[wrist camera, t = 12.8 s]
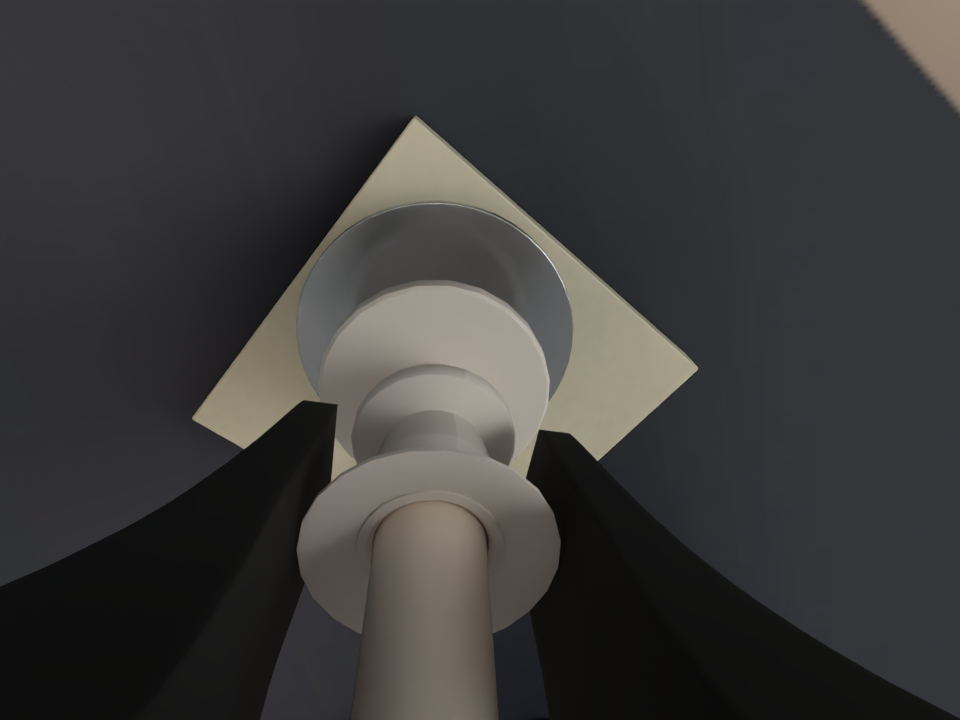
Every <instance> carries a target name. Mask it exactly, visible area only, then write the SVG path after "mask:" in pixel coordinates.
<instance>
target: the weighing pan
mask: <svg viewBox="0 0 960 720" xmlns="http://www.w3.org/2000/svg"><path fill="white" fill-rule="evenodd" d="M416 280H451V281H455V282H459V283H463V284H467V285H471V286H475V287H479V288H481V289H483V290H485V291H487V292H489V293H490V294H492V295H494V296H496V297H498V298H499V299H501V300H503V301H505V302H507V303H508V304H509V305H510V306H511V307H512V308H513V309H514V310H515V311H516V312H517V313H518V314H519V315H520V316H521V317H522V318H523V319H524V320H525V321H526V322H527V323H528V324H529V326H530V328H531V330H532V331H533V333H534V335H535V337H536V338H537V340H538V342H539V344H540V346H541V347H542V350H543V353H544V356H545V361H546V365H547V370H548V374H549V379H550V385H549V398H548V402H549V400H550V399H551V398H552V396H553V395H554V393H555V392H556V390H557V388H558V386H559V384H560V382H561V380H562V378H563V377H564V374H565V371H566V368H567V365H568V363H569V359H570V354H571V349H572V343H573V317H572V310H571V305H570V301H569V296H568V294H567V291H566V288H565V286H564V283H563V280H562V278H561V277H560V275H559V273H558V271H557V269H556V268H555V266H554V264H553V262H552V261H551V260H550V258H549V257H548V256H547V254H546V253H545V252H544V250H543V249H542V248H541V247H540V246H539V245H538V244H537V243H536V242H535V241H534V240H533V239H532V238H531V237H530V236H529V235H528V234H527V233H525V232H524V231H523V230H522V229H520V228H519V227H518V226H516V225H515V224H514V223H512V222H510V221H508V220H506V219H505V218H503V217H501V216H499V215H497V214H495V213H493V212H490V211H488V210H485V209H483V208H480V207H477V206H473V205H469V204H464V203H460V202H452V201H443V200H427V201H415V202H409V203H403V204H398V205H395V206H392V207H388V208H385V209H382V210H380V211H377V212H375V213H373V214H371V215H369V216H367V217H364V218H363V219H361V220H360V221H358V222H357V223H355V224H353V225H352V226H350V227H349V228H347V229H346V230H345V231H344V232H343V233H342V234H340V235H339V236H338V237H337V238H336V239H335V240H334V241H333V242H332V243H331V244H330V245H329V246H328V248H327V249H326V250H325V251H324V252H323V253H322V255H321V256H320V257H319V259H318V261H317V262H316V264H315V265H314V267H313V268H312V270H311V272H310V274H309V276H308V278H307V280H306V283H305V285H304V287H303V290H302V294H301V297H300V301H299V305H298V313H297V321H296V328H297V343H298V349H299V355H300V358H301V361H302V364H303V367H304V371H305V373H306V375H307V377H308V379H309V381H310V383H311V385H312V387H313V389H314V390H315V392H316V393H317V395H318V396H319V398H320V395H319V387H318V381H319V375H320V370H321V364H322V359H323V355H324V353H325V351H326V349H327V347H328V345H329V343H330V341H331V339H332V337H333V335H334V333H335V332H336V330H337V328H338V326H339V324H340V323H341V322H342V321H343V320H344V319H345V318H346V317H347V316H348V315H349V314H350V313H351V312H352V311H353V310H354V309H355V308H356V307H357V306H358V305H359V304H360V303H362V302H363V301H365V300H367V299H369V298H370V297H372V296H374V295H376V294H377V293H379V292H381V291H383V290H384V289H386V288H390V287H393V286H397V285H401V284H405V283H409V282H413V281H416Z"/></svg>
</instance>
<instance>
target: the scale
mask: <svg viewBox="0 0 960 720" xmlns="http://www.w3.org/2000/svg"><path fill="white" fill-rule="evenodd" d="M427 200H443V201H452V202H460V203H464V204H469V205H473V206H477V207H480V208H483V209H485V210H488V211H490V212H493V213H495V214H497V215H499V216H501V217H503V218H505V219H506V220H508V221H510V222H512V223H514V224H515V225H516V226H518V227H519V228H520V229H522V230H523V231H524V232H525V233H527V234H528V235H529V236H530V237H531V238H532V239H533V240H534V241H535V242H536V243H537V244H538V245H539V246H540V247H541V248H542V249H543V250H544V252H545V253H546V254H547V256H548V257H549V258H550V260H551V261H552V262H553V264H554V266H555V268H556V269H557V271H558V273H559V275H560V277H561V278H562V280H563V283H564V286H565V288H566V291H567V294H568V296H569V301H570V305H571V310H572V317H573V343H572V349H571V354H570V359H569V363H568V365H567V368H566V371H565V374H564V377H563V378H562V380H561V382H560V384H559V386H558V388H557V390H556V392H555V393H554V395H553V396H552V398H551V399H550V400H549V402H548V407H547V410H546V412H545V415H544V418H543V420H542V423H541V425H540V428H539V429H540V430H548V431H556V432H564V433H570V434H571V435H572V436H573V437H574V438H576V439H577V440H578V441H579V442H580V443H581V444H582V445H583V446H584V447H585V448H586V450H587V451H588V452H589V453H590V454H591V455H592V456H593V457H594V458H595V459H596V460H597V461H598V460H599V459H600V458H601V457H602V456H604V455H605V454H606V453H607V452H608V451H609V450H610V449H611V448H612V447H613V446H615V445H616V444H617V443H618V442H619V441H620V440H621V439H622V438H623V437H624V436H626V435H627V434H628V433H629V432H630V431H631V430H632V429H633V428H634V427H635V426H637V425H638V424H639V423H640V422H641V421H642V420H643V419H644V418H645V417H646V416H647V415H649V414H650V413H651V412H652V411H653V410H654V409H655V408H656V407H657V406H658V405H660V404H661V403H662V402H663V401H664V400H665V399H666V398H667V397H668V396H669V395H671V394H672V393H673V392H674V391H675V390H676V389H677V388H678V387H679V386H680V385H682V384H683V383H684V382H685V381H686V380H687V379H688V378H689V377H690V376H691V375H692V374H694V373H695V372H696V371H697V370H698V367H697V366H696V365H695V364H694V362H693V361H692V360H691V359H690V358H689V357H688V356H687V355H686V354H685V353H684V352H683V351H682V350H681V349H680V348H679V347H677V346H676V345H675V344H674V343H673V342H672V341H671V340H670V339H668V338H667V337H666V336H665V335H664V334H663V333H662V332H661V331H659V330H658V329H657V328H656V327H655V326H654V325H653V324H651V323H650V322H649V321H648V320H647V319H646V318H645V317H644V316H642V315H641V314H640V313H639V312H638V311H637V310H636V309H635V308H633V307H632V306H631V305H630V304H629V303H628V302H627V301H625V300H624V299H623V298H622V297H621V296H620V295H619V294H618V293H616V292H615V291H614V290H613V289H612V288H611V287H610V286H609V285H607V284H606V283H605V282H604V281H603V280H602V279H601V278H600V277H598V276H597V275H596V274H595V273H594V272H593V271H592V270H590V269H589V268H588V267H587V266H586V265H585V264H584V263H583V262H581V261H580V260H579V259H578V258H577V257H576V256H575V255H574V254H572V253H571V252H570V251H569V250H568V249H567V248H566V247H564V246H563V245H562V244H561V243H560V242H559V241H558V240H557V239H555V238H554V237H553V236H552V235H551V234H550V233H549V232H548V231H546V230H545V229H544V228H543V227H542V226H541V225H540V224H538V223H537V222H536V221H535V220H534V219H533V218H532V217H531V216H529V215H528V214H527V213H526V212H525V211H524V210H523V209H522V208H520V207H519V206H518V205H517V204H516V203H515V202H514V201H512V200H511V199H510V198H509V197H508V196H507V195H506V194H505V193H503V192H502V191H501V190H500V189H499V188H498V187H497V186H496V185H494V184H493V183H492V182H491V181H490V180H489V179H488V178H487V177H485V176H484V175H483V174H482V173H481V172H480V171H479V170H477V169H476V168H475V167H474V166H473V165H472V164H471V163H470V162H468V161H467V160H466V159H465V158H464V157H463V156H462V155H461V154H459V153H458V152H457V151H456V150H455V149H454V148H453V147H451V146H450V145H449V144H448V143H447V142H446V141H445V140H444V139H442V138H441V137H440V136H439V135H438V134H437V133H436V132H435V131H433V130H432V129H431V128H430V127H429V126H428V125H427V124H425V123H424V122H423V121H422V120H421V119H420V118H419V117H418V116H414V117H413V118H412V120H411V121H410V122H409V124H408V125H407V126H406V128H405V129H404V130H403V132H402V133H401V135H400V136H399V137H398V139H397V140H396V141H395V143H394V144H393V145H392V147H391V148H390V149H389V151H388V152H387V154H386V155H385V156H384V158H383V159H382V160H381V162H380V163H379V164H378V166H377V167H376V169H375V170H374V171H373V173H372V174H371V175H370V177H369V178H368V179H367V181H366V182H365V183H364V185H363V186H362V188H361V189H360V190H359V192H358V193H357V194H356V196H355V197H354V198H353V200H352V201H351V202H350V204H349V205H348V207H347V208H346V209H345V211H344V212H343V213H342V215H341V216H340V217H339V219H338V220H337V221H336V223H335V224H334V226H333V227H332V228H331V230H330V231H329V232H328V234H327V235H326V236H325V238H324V239H323V240H322V242H321V243H320V245H319V246H318V247H317V249H316V250H315V251H314V253H313V254H312V255H311V257H310V258H309V259H308V261H307V262H306V264H305V265H304V266H303V268H302V269H301V270H300V272H299V273H298V274H297V276H296V277H295V278H294V280H293V281H292V283H291V284H290V285H289V287H288V288H287V289H286V291H285V292H284V293H283V295H282V296H281V297H280V299H279V300H278V302H277V303H276V304H275V306H274V307H273V308H272V310H271V311H270V312H269V314H268V315H267V316H266V318H265V319H264V321H263V322H262V323H261V325H260V326H259V327H258V329H257V330H256V331H255V333H254V334H253V335H252V337H251V338H250V340H249V341H248V342H247V344H246V345H245V346H244V348H243V349H242V350H241V352H240V353H239V354H238V356H237V357H236V359H235V360H234V361H233V363H232V364H231V365H230V367H229V368H228V369H227V371H226V372H225V373H224V375H223V376H222V378H221V379H220V380H219V382H218V383H217V384H216V386H215V387H214V388H213V390H212V391H211V392H210V394H209V395H208V397H207V398H206V399H205V401H204V402H203V403H202V405H201V406H200V407H199V409H198V410H197V411H196V413H195V414H194V416H193V417H192V419H193V420H194V421H196V422H198V423H199V424H201V425H203V426H205V427H206V428H208V429H210V430H212V431H213V432H215V433H217V434H219V435H220V436H222V437H224V438H226V439H227V440H229V441H231V442H233V443H234V444H236V445H238V446H240V447H241V448H243V449H245V448H246V447H248V446H249V445H250V444H251V443H253V442H254V441H255V440H256V439H258V438H259V437H260V436H261V435H263V434H264V433H265V432H266V431H267V430H268V429H270V428H271V427H272V426H273V425H274V424H275V423H277V422H278V421H279V420H280V419H281V418H282V417H283V416H285V415H286V414H287V413H288V412H289V411H290V410H291V409H292V408H294V407H295V406H296V405H297V404H299V403H300V402H301V401H303V400H307V401H315V402H320V398H319V396H318V395H317V393H316V392H315V390H314V389H313V387H312V385H311V383H310V381H309V379H308V377H307V375H306V373H305V371H304V367H303V364H302V361H301V358H300V355H299V349H298V343H297V328H296V321H297V313H298V305H299V301H300V297H301V294H302V290H303V287H304V285H305V283H306V280H307V278H308V276H309V274H310V272H311V270H312V268H313V267H314V265H315V264H316V262H317V261H318V259H319V257H320V256H321V255H322V253H323V252H324V251H325V250H326V249H327V248H328V246H329V245H330V244H331V243H332V242H333V241H334V240H335V239H336V238H337V237H338V236H339V235H340V234H342V233H343V232H344V231H345V230H346V229H347V228H349V227H350V226H352V225H353V224H355V223H357V222H358V221H360V220H361V219H363V218H364V217H367V216H369V215H371V214H373V213H375V212H377V211H380V210H382V209H385V208H388V207H392V206H395V205H398V204H403V203H409V202H415V201H427ZM537 435H538V432H537V433H536V435H535V436H534V437H533V439H532V440H531V441H530V443H529V444H528V445H527V447H526V448H525V449H524V451H523V452H522V453H520V454H519V455H518V456H517V457H516V458H514V459H513V460H512V461H511V462H510V464H509V467H511V468H513V469H515V470H516V471H517V472H518V473H520V474H521V475H522V476H523V477H524V478H526V476H527V472H528V468H529V465H530V461H531V457H532V453H533V450H534V446H535V442H536V439H537ZM355 465H357V462H356V460H355V459H354V458H353V457H351V456H350V455H349V454H348V453H347V452H346V450H345V449H344V448H343V447H342V446H341V444H340V443H339V442H338V441H337V440H336V438H335V442H334V453H333V465H332V476H331V482H332V481H333V480H334V479H335V478H336V477H337V476H338V475H339V474H340V473H342V472H344V471H346V470H348V469H350V468H352V467H353V466H355Z"/></svg>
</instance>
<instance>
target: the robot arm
mask: <svg viewBox="0 0 960 720" xmlns="http://www.w3.org/2000/svg"><path fill="white" fill-rule="evenodd" d="M337 407H338V404H331V403H323V402H315V401H307V400H303V401H301V402H300V403H299V404H297V405H296V406H295V407H294V408H292V409H291V410H290V411H289V412H288V413H287V414H286V415H285V416H283V417H282V418H281V419H280V420H279V421H278V422H277V423H275V424H274V425H273V426H272V427H271V428H270V429H268V430H267V431H266V432H265V433H264V434H263V435H261V436H260V437H259V438H258V439H256V440H255V441H254V442H253V443H251V444H250V445H249V446H248V447H246V448H245V449H244V450H243V451H241V452H240V453H239V454H238V455H236V456H235V457H234V458H233V459H231V460H230V461H229V462H227V463H226V464H225V465H223V466H222V467H220V468H219V469H218V470H216V471H215V472H213V473H212V474H211V475H209V476H208V477H206V478H205V479H203V480H202V481H201V482H199V483H198V484H196V485H195V486H194V487H192V488H191V489H189V490H188V491H186V492H185V493H183V494H182V495H180V496H179V497H177V498H175V499H174V500H172V501H171V502H169V503H168V504H166V505H164V506H163V507H161V508H159V509H157V510H156V511H154V512H152V513H151V514H149V515H147V516H145V517H144V518H142V519H140V520H138V521H137V522H135V523H133V524H131V525H129V526H128V527H126V528H124V529H122V530H120V531H118V532H116V533H114V534H112V535H110V536H108V537H106V538H104V539H102V540H100V541H98V542H96V543H94V544H92V545H90V546H88V547H86V548H84V549H82V550H80V551H78V552H76V553H74V554H72V555H70V556H68V557H66V558H64V559H62V560H60V561H58V562H56V563H53V564H51V565H49V566H47V567H45V568H42V569H40V570H38V571H35V572H33V573H31V574H29V575H26V576H24V577H22V578H19V579H17V580H15V581H13V582H10V583H8V584H6V585H3V586H1V587H0V720H260V718H261V714H262V710H263V706H264V703H265V699H266V695H267V691H268V687H269V684H270V681H271V678H272V674H273V671H274V668H275V665H276V662H277V658H278V656H279V653H280V650H281V647H282V645H283V642H284V639H285V636H286V633H287V631H288V628H289V625H290V622H291V619H292V617H293V614H294V611H295V608H296V605H297V603H298V600H299V597H300V594H301V592H302V589H303V586H304V583H305V582H304V580H303V579H302V577H301V574H300V568H299V562H298V556H297V550H296V549H297V544H298V539H299V534H300V529H301V523H302V520H303V518H304V516H305V515H306V513H307V511H308V509H309V508H310V506H311V504H312V503H313V501H314V499H315V498H316V496H317V494H318V493H319V492H321V491H322V490H323V489H324V488H325V487H326V486H327V485H328V484H329V483H330V482H331V476H332V465H333V453H334V442H335V430H336V418H337ZM526 479H527V480H528V481H529V482H530V483H532V484H533V485H534V486H535V487H536V488H538V489H539V491H540V493H541V494H542V496H543V497H544V499H545V500H546V502H547V503H548V505H549V506H550V508H551V509H552V511H553V512H554V516H555V520H556V524H557V528H558V532H559V536H560V540H561V545H560V555H559V564H558V569H557V571H556V573H555V575H554V577H553V580H552V582H551V584H550V586H549V588H548V590H547V592H546V593H545V594H544V595H543V596H542V597H541V599H540V600H539V601H538V602H537V603H536V604H535V605H534V607H533V608H532V609H531V610H530V616H531V621H532V625H533V630H534V635H535V640H536V645H537V650H538V655H539V660H540V664H541V669H542V674H543V680H544V686H545V692H546V698H547V705H548V714H549V720H960V718H958V717H956V716H954V715H952V714H950V713H948V712H946V711H944V710H942V709H940V708H938V707H936V706H934V705H932V704H931V703H929V702H927V701H925V700H923V699H921V698H919V697H917V696H915V695H913V694H911V693H909V692H907V691H905V690H903V689H901V688H900V687H898V686H896V685H894V684H892V683H890V682H888V681H886V680H884V679H883V678H881V677H879V676H877V675H875V674H874V673H872V672H870V671H869V670H867V669H865V668H863V667H862V666H860V665H858V664H857V663H855V662H853V661H851V660H850V659H848V658H846V657H845V656H843V655H841V654H839V653H838V652H836V651H834V650H833V649H831V648H829V647H827V646H826V645H824V644H823V643H821V642H819V641H818V640H816V639H815V638H813V637H811V636H810V635H808V634H807V633H805V632H803V631H802V630H800V629H799V628H797V627H795V626H794V625H792V624H791V623H789V622H788V621H786V620H785V619H783V618H782V617H781V616H779V615H778V614H776V613H775V612H773V611H772V610H770V609H769V608H767V607H766V606H764V605H763V604H761V603H760V602H758V601H757V600H755V599H754V598H752V597H751V596H750V595H748V594H747V593H745V592H744V591H743V590H741V589H740V588H739V587H737V586H736V585H734V584H733V583H732V582H730V581H729V580H728V579H726V578H725V577H724V576H723V575H721V574H720V573H719V572H717V571H716V570H715V569H714V568H712V567H711V566H710V565H709V564H707V563H706V562H705V561H703V560H702V559H701V558H700V557H698V556H697V555H696V554H695V553H693V552H692V551H691V550H690V549H689V548H687V547H686V546H685V545H684V544H683V543H682V542H680V541H679V540H678V539H677V538H676V537H675V536H674V535H673V534H671V533H670V532H669V531H668V530H667V529H666V528H665V527H664V526H663V525H661V524H660V523H659V522H658V521H657V520H656V519H655V518H654V517H653V516H652V515H651V514H649V513H648V512H647V511H646V510H645V509H644V508H643V507H642V506H641V505H640V504H639V503H638V502H637V501H636V500H635V499H634V498H633V497H632V496H631V495H630V494H629V493H628V492H627V491H626V490H625V489H624V488H623V487H622V486H621V485H620V484H619V483H618V482H617V481H616V480H615V479H614V478H613V477H612V476H611V475H610V474H609V473H608V472H607V470H606V469H605V468H604V467H603V466H602V465H601V464H600V463H599V462H598V461H597V460H596V459H595V458H594V457H593V456H592V455H591V454H590V453H589V452H588V451H587V450H586V448H585V447H584V446H583V445H582V444H581V443H580V442H579V441H578V440H577V439H576V438H574V437H573V436H572V435H571V434H570V433H564V432H556V431H548V430H540V429H539V431H538V435H537V439H536V442H535V446H534V450H533V453H532V457H531V461H530V465H529V468H528V472H527V476H526Z"/></svg>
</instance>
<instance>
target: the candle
mask: <svg viewBox="0 0 960 720" xmlns="http://www.w3.org/2000/svg"><path fill="white" fill-rule="evenodd" d="M549 385H550V379H549V374H548V370H547V365H546V361H545V356H544V353H543V350H542V347H541V346H540V344H539V342H538V340H537V338H536V337H535V335H534V333H533V331H532V330H531V328H530V326H529V324H528V323H527V322H526V321H525V320H524V319H523V318H522V317H521V316H520V315H519V314H518V313H517V312H516V311H515V310H514V309H513V308H512V307H511V306H510V305H509V304H508V303H507V302H505V301H503V300H501V299H499V298H498V297H496V296H494V295H492V294H490V293H489V292H487V291H485V290H483V289H481V288H479V287H475V286H471V285H467V284H463V283H459V282H455V281H451V280H416V281H413V282H409V283H405V284H401V285H397V286H393V287H390V288H386V289H384V290H383V291H381V292H379V293H377V294H376V295H374V296H372V297H370V298H369V299H367V300H365V301H363V302H362V303H360V304H359V305H358V306H357V307H356V308H355V309H354V310H353V311H352V312H351V313H350V314H349V315H348V316H347V317H346V318H345V319H344V320H343V321H342V322H341V323H340V324H339V326H338V328H337V330H336V332H335V333H334V335H333V337H332V339H331V341H330V343H329V345H328V347H327V349H326V351H325V353H324V355H323V359H322V364H321V370H320V375H319V381H318V387H319V395H320V402H323V403H331V404H338V407H337V418H336V430H335V438H336V440H337V441H338V442H339V443H340V444H341V446H342V447H343V448H344V449H345V450H346V452H347V453H348V454H349V455H350V456H351V457H353V458H354V459H355V460H356V462H357V465H355V466H353V467H352V468H350V469H348V470H346V471H344V472H342V473H340V474H339V475H338V476H337V477H336V478H335V479H334V480H333V481H332V482H330V483H329V484H328V485H327V486H326V487H325V488H324V489H323V490H322V491H321V492H319V493H318V494H317V496H316V498H315V499H314V501H313V503H312V504H311V506H310V508H309V509H308V511H307V513H306V515H305V516H304V518H303V520H302V523H301V529H300V534H299V539H298V544H297V549H296V550H297V556H298V562H299V568H300V574H301V577H302V579H303V580H304V582H305V584H306V586H307V588H308V589H309V591H310V593H311V595H312V597H313V599H314V600H315V601H316V602H317V603H318V604H319V605H320V606H321V607H322V608H323V609H325V610H326V611H327V612H328V613H329V614H330V615H331V616H332V617H333V618H334V619H336V620H337V621H339V622H341V623H342V624H344V625H346V626H347V627H349V628H351V629H352V630H354V631H356V632H357V633H360V634H362V635H361V642H360V650H359V657H358V665H357V672H356V680H355V687H354V695H353V702H352V710H351V717H350V720H499V718H498V704H497V689H496V675H495V660H494V646H493V633H495V632H497V631H499V630H502V629H504V628H506V627H508V626H509V625H511V624H512V623H513V622H515V621H516V620H518V619H519V618H521V617H522V616H523V615H525V614H526V613H528V612H529V611H530V610H531V609H532V608H533V607H534V605H535V604H536V603H537V602H538V601H539V600H540V599H541V597H542V596H543V595H544V594H545V593H546V592H547V590H548V588H549V586H550V584H551V582H552V580H553V577H554V575H555V573H556V571H557V569H558V564H559V555H560V545H561V540H560V536H559V532H558V528H557V524H556V520H555V516H554V512H553V511H552V509H551V508H550V506H549V505H548V503H547V502H546V500H545V499H544V497H543V496H542V494H541V493H540V491H539V489H538V488H536V487H535V486H534V485H533V484H532V483H530V482H529V481H528V480H527V479H526V478H524V477H523V476H522V475H521V474H520V473H518V472H517V471H516V470H515V469H513V468H511V467H509V464H510V462H511V461H512V460H513V459H514V458H516V457H517V456H518V455H519V454H520V453H522V452H523V451H524V449H525V448H526V447H527V445H528V444H529V443H530V441H531V440H532V439H533V437H534V436H535V435H536V433H537V432H538V431H539V428H540V425H541V423H542V420H543V418H544V415H545V412H546V410H547V407H548V398H549Z"/></svg>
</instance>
